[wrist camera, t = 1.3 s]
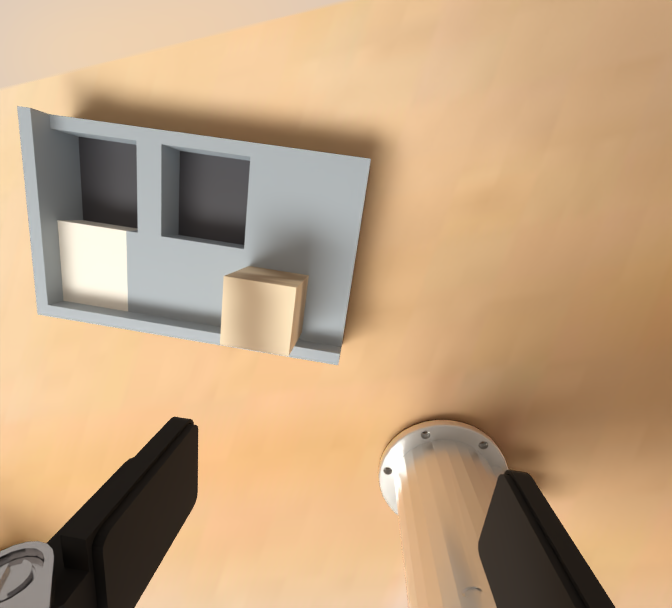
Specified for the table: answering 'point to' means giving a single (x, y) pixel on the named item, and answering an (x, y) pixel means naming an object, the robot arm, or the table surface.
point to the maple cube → (263, 309)
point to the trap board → (184, 226)
